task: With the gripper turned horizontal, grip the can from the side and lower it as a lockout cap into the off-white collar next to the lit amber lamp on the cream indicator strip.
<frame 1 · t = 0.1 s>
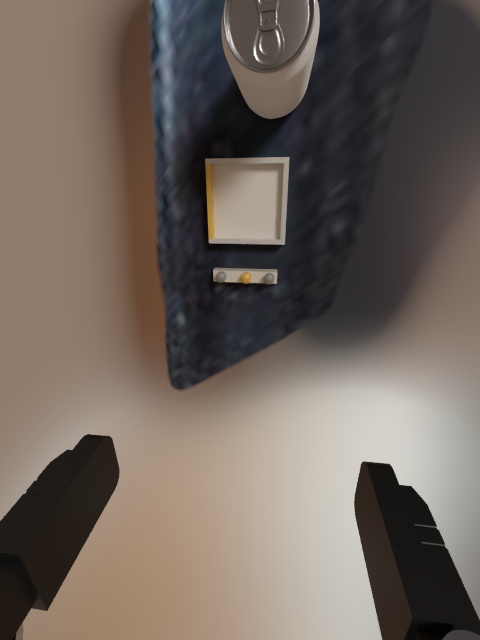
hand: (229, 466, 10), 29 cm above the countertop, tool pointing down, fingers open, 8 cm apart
can: (274, 81, 30), on the countertop
indicator bank: (245, 274, 37), on the countertop
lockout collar: (247, 202, 34), on the countertop
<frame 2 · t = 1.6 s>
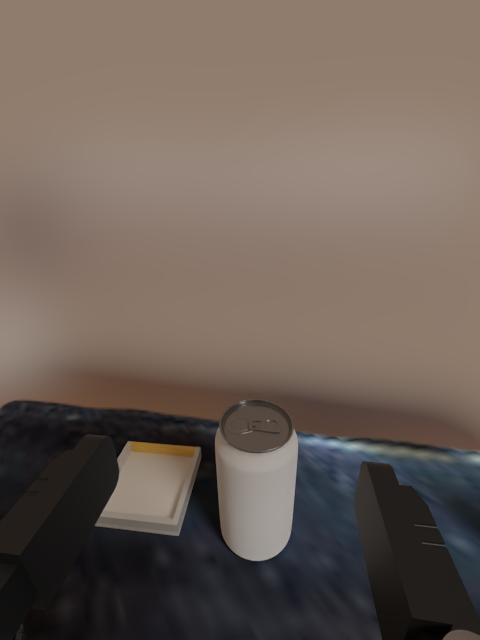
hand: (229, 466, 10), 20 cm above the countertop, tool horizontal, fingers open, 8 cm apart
can: (255, 525, 28), on the countertop
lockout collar: (150, 487, 31), on the countertop
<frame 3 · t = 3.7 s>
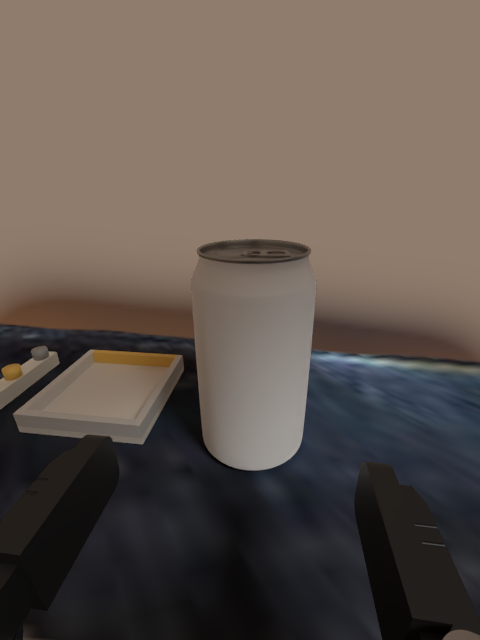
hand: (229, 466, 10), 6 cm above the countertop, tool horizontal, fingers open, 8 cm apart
can: (251, 435, 20), on the countertop
indicator bank: (20, 387, 25), on the countertop
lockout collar: (113, 396, 24), on the countertop
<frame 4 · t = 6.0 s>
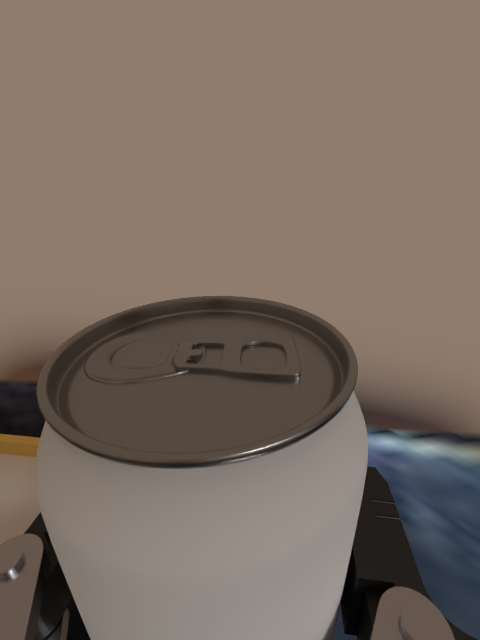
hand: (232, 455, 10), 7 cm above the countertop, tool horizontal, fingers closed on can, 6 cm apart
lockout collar: (3, 532, 14), on the countertop
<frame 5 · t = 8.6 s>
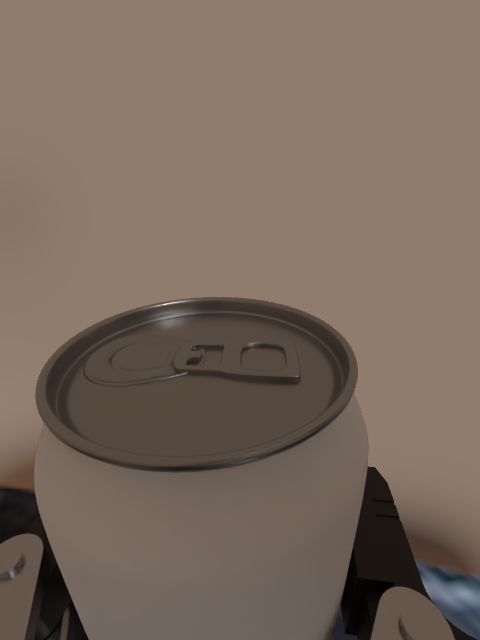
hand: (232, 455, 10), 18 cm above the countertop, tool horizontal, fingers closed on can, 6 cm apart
when the fingers open (8 cm above the countertop, at t = 11.2 s): can drops 1 cm, resting on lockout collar.
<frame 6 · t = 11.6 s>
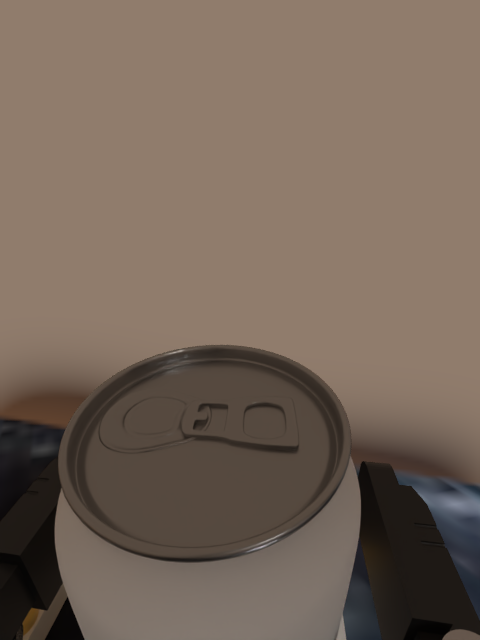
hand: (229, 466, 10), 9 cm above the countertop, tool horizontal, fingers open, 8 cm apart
indicator bank: (33, 629, 13), on the countertop
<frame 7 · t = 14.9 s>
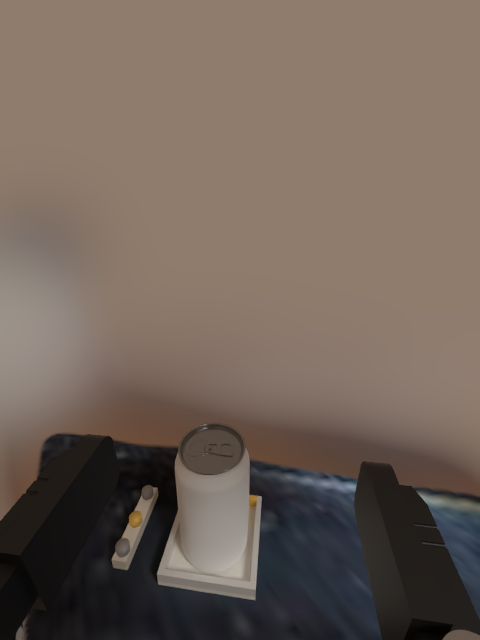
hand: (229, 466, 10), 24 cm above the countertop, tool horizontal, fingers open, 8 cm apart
can: (214, 539, 30), resting on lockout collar
indicator bank: (138, 527, 32), on the countertop
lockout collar: (215, 540, 30), on the countertop
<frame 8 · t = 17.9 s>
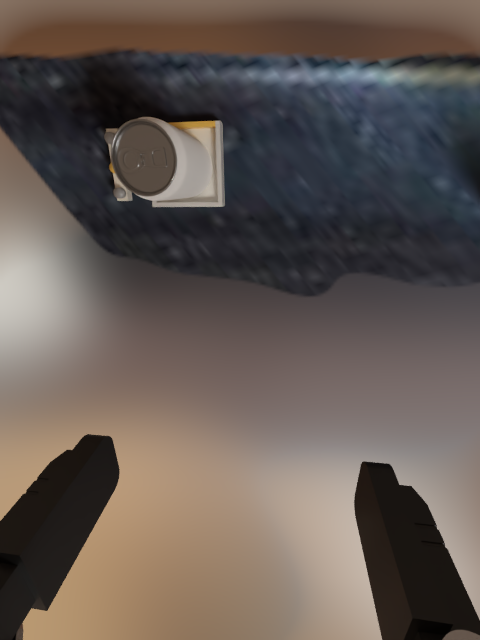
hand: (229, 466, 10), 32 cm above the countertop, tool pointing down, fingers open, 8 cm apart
can: (186, 168, 36), resting on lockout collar
indicator bank: (122, 166, 37), on the countertop
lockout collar: (187, 167, 36), on the countertop
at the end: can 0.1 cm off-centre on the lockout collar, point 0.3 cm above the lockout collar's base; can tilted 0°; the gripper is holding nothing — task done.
